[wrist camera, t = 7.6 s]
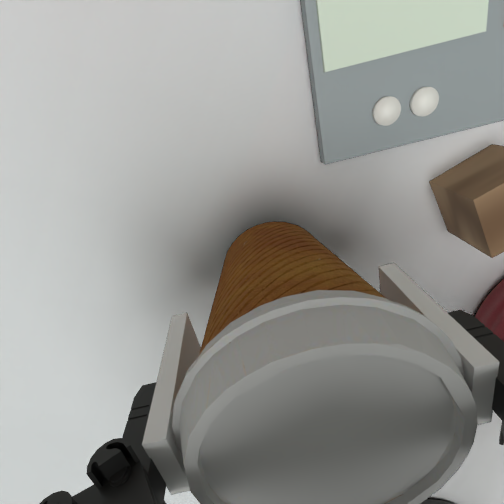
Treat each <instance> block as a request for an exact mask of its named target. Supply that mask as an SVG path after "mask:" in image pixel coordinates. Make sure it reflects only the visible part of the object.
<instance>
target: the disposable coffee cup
mask: <svg viewBox="0 0 504 504" xmlns="http://www.w3.org/2000/svg"><path fill="white" fill-rule="evenodd" d="M172 428H173V433H174V438H175V443H176V445H177V447H178V449H179V450H180V452H181V454H182V456H183V464H184V468H185V472H186V476H187V480H188V484H189V488H190V491H191V493H192V494H193V495H194V496H195V497H196V499H197V500H198V501H199V502H200V504H420V503H422V502H423V501H425V500H426V499H427V498H428V497H430V496H431V495H432V494H434V493H435V492H436V491H438V490H439V489H440V488H441V487H442V486H443V485H444V484H445V483H446V482H447V481H448V480H449V479H450V478H451V477H452V476H453V475H454V474H455V472H456V471H457V470H458V469H459V467H460V466H461V464H462V463H463V461H464V460H465V458H466V457H467V456H468V454H469V451H470V449H471V447H472V444H473V442H474V437H475V433H476V428H477V412H476V404H475V402H474V399H473V396H472V393H471V391H470V389H469V387H468V385H467V384H466V382H465V380H464V369H463V365H462V361H461V357H460V355H459V354H458V352H457V350H456V348H455V346H454V344H453V342H452V341H451V339H450V338H449V337H448V336H447V335H446V334H445V333H444V332H443V331H442V330H441V329H440V328H439V327H438V326H437V325H436V324H434V323H433V322H432V321H431V320H429V319H428V318H427V317H426V316H424V315H422V314H420V313H419V312H417V311H415V310H413V309H411V308H409V307H407V306H405V305H403V304H400V303H396V302H393V301H390V300H388V299H387V298H385V297H384V296H383V295H381V294H380V293H379V292H378V291H377V290H376V289H374V288H373V287H372V286H371V285H370V284H369V283H367V282H366V281H365V280H364V279H362V278H361V277H360V276H359V275H358V274H357V273H355V272H354V271H353V270H352V269H351V268H350V267H348V266H347V265H346V264H345V263H344V262H343V261H341V260H340V259H339V258H338V257H337V256H336V255H334V254H333V253H332V252H331V251H330V250H328V249H327V248H326V247H325V246H324V245H323V244H321V243H320V242H319V241H318V240H317V239H315V238H314V237H313V236H312V235H311V234H310V233H309V232H307V231H306V230H305V229H303V228H301V227H299V226H298V225H294V224H290V223H287V222H266V223H263V224H259V225H256V226H254V227H252V228H250V229H248V230H246V231H245V232H244V233H242V234H241V235H240V236H239V237H238V238H237V239H236V240H235V241H234V242H233V243H232V245H231V246H230V248H229V250H228V252H227V254H226V258H225V261H224V265H223V269H222V273H221V276H220V280H219V284H218V287H217V291H216V294H215V298H214V302H213V306H212V309H211V313H210V317H209V320H208V324H207V328H206V331H205V335H204V339H203V343H202V347H201V350H200V354H199V357H198V358H197V359H196V360H195V362H194V363H193V364H192V365H191V366H190V367H189V369H188V371H187V373H186V375H185V378H184V380H183V382H182V385H181V387H180V389H179V391H178V394H177V396H176V399H175V402H174V410H173V423H172Z"/></svg>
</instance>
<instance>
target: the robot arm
mask: <svg viewBox="0 0 504 504" xmlns="http://www.w3.org/2000/svg"><path fill="white" fill-rule="evenodd" d="M379 279H380V294H381V295H383V296H384V297H385V298H387V299H388V300H390V301H393V302H396V303H400V304H403V305H405V306H407V307H409V308H411V309H413V310H415V311H417V312H419V313H420V314H422V315H424V316H426V317H427V318H428V319H429V320H431V321H432V322H433V323H434V324H436V325H437V326H438V327H439V328H440V329H441V330H442V331H443V332H444V333H445V334H446V335H447V336H448V337H449V338H450V339H451V341H452V342H453V344H454V346H455V348H456V350H457V352H458V354H459V355H460V357H461V361H462V365H463V369H464V380H465V382H466V384H467V385H468V387H469V389H470V391H471V393H472V396H473V399H474V402H475V404H476V412H477V425H479V424H484V423H488V422H491V419H492V412H493V410H494V412H495V413H496V414H497V415H498V416H499V417H500V418H501V420H502V426H501V432H500V439H499V444H501V445H504V341H503V340H501V339H500V338H499V337H498V336H497V335H496V334H493V332H492V331H491V330H490V329H489V328H487V327H485V325H484V324H483V323H481V322H480V321H479V320H478V319H477V318H476V317H474V316H472V315H470V314H468V313H466V312H464V311H462V310H458V311H453V312H449V313H447V312H446V311H445V310H444V309H443V308H442V307H441V306H440V305H438V304H437V303H436V302H435V301H434V300H433V299H432V298H431V297H430V296H429V295H428V294H427V293H426V292H425V291H424V290H423V289H421V288H420V287H419V286H418V285H417V284H416V283H415V282H414V281H413V280H412V279H411V278H410V277H409V276H408V275H407V274H406V273H404V272H403V271H402V270H401V269H400V268H399V267H398V266H397V265H396V264H395V263H391V264H387V265H383V266H379ZM200 350H201V347H200V345H199V342H198V340H197V337H196V334H195V332H194V329H193V327H192V324H191V321H190V319H189V316H188V314H187V313H183V314H179V315H175V316H172V318H171V323H170V327H169V331H168V335H167V340H166V344H165V348H164V352H163V357H162V361H161V365H160V370H159V374H158V378H157V382H156V383H152V384H147V385H143V386H142V387H141V388H140V390H139V391H138V393H137V394H136V396H135V397H134V401H133V404H132V407H131V411H130V414H129V417H128V421H127V424H126V427H125V431H124V434H123V438H118V439H113V440H111V441H109V442H107V443H105V444H104V445H103V446H101V447H100V448H99V449H98V450H97V451H96V452H95V453H94V455H93V456H92V457H91V459H90V462H89V464H88V466H87V475H88V476H89V478H90V479H91V480H92V482H93V483H94V485H93V486H91V487H89V488H87V489H85V490H84V491H82V492H80V493H78V494H76V495H75V496H73V497H72V496H71V495H70V494H69V493H68V492H65V491H59V492H56V493H53V494H51V495H50V496H48V497H47V498H45V499H44V500H43V501H42V502H41V503H40V504H166V503H165V501H164V495H165V489H166V487H167V488H168V490H169V492H170V494H171V495H173V494H177V493H181V492H186V491H190V488H189V484H188V480H187V476H186V472H185V468H184V464H183V456H182V454H181V452H180V450H179V449H178V447H177V445H176V443H175V438H174V433H173V428H172V423H173V410H174V402H175V399H176V396H177V394H178V391H179V389H180V387H181V385H182V382H183V380H184V378H185V375H186V373H187V371H188V369H189V367H190V366H191V365H192V364H193V363H194V362H195V360H196V359H197V358H198V357H199V354H200ZM420 504H452V503H450V502H446V501H442V500H433V499H426V500H425V501H423V502H422V503H420Z"/></svg>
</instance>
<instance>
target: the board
mask: <svg viewBox="0 0 504 504" xmlns="http://www.w3.org/2000/svg"><path fill="white" fill-rule="evenodd" d="M300 2H301V9H302V17H303V25H304V33H305V40H306V48H307V56H308V64H309V72H310V79H311V87H312V95H313V103H314V110H315V118H316V126H317V134H318V142H319V149H320V157H321V162H322V163H323V164H329V163H334V162H338V161H342V160H346V159H350V158H354V157H358V156H362V155H366V154H370V153H374V152H378V151H382V150H386V149H390V148H394V147H398V146H402V145H406V144H410V143H414V142H418V141H422V140H427V139H431V138H435V137H439V136H443V135H447V134H451V133H455V132H459V131H463V130H467V129H471V128H475V127H479V126H483V125H487V124H491V123H495V122H499V121H503V120H504V0H300Z"/></svg>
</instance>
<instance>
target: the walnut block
mask: <svg viewBox="0 0 504 504" xmlns="http://www.w3.org/2000/svg"><path fill="white" fill-rule="evenodd" d="M429 183H430V185H431V188H432V190H433V193H434V196H435V198H436V201H437V204H438V206H439V209H440V211H441V214H442V217H443V219H444V222H445V225H446V227H447V230H448V232H450V233H452V234H453V235H455V236H457V237H458V238H460V239H462V240H463V241H465V242H466V243H468V244H470V245H471V246H473V247H475V248H476V249H478V250H480V251H481V252H483V253H485V254H486V255H488V256H490V257H491V258H493V257H495V256H497V255H499V254H500V253H502V252H504V146H499V145H493V144H492V145H490V146H488V147H487V148H485V149H483V150H481V151H480V152H478V153H476V154H475V155H473V156H471V157H470V158H468V159H466V160H465V161H463V162H461V163H460V164H458V165H456V166H454V167H453V168H451V169H449V170H448V171H446V172H444V173H443V174H441V175H439V176H438V177H436V178H434V179H433V180H431V181H429Z"/></svg>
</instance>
